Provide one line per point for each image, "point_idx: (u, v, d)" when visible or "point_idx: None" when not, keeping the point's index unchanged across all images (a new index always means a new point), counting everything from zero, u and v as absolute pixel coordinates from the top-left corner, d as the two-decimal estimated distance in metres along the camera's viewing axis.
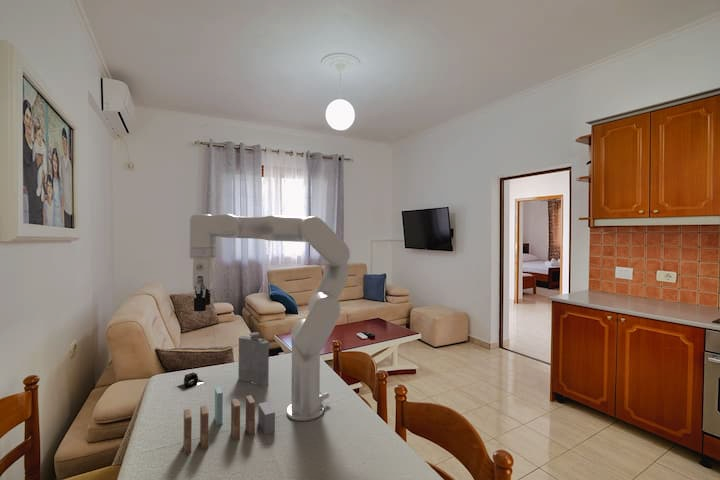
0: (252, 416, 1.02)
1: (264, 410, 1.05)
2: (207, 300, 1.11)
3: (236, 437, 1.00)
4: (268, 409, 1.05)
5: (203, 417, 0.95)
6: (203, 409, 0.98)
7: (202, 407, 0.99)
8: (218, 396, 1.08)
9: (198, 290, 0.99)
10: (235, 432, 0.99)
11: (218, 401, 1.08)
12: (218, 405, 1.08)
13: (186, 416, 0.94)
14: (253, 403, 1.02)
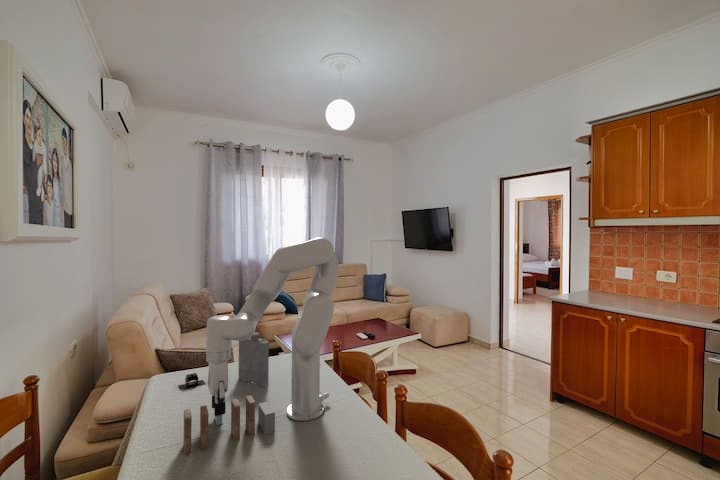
0: (252, 416, 1.02)
1: (264, 410, 1.05)
2: None
3: (236, 437, 1.00)
4: (268, 409, 1.05)
5: (203, 417, 0.95)
6: (203, 409, 0.98)
7: (202, 407, 0.99)
8: (218, 396, 1.08)
9: None
10: (235, 432, 0.99)
11: None
12: None
13: (186, 416, 0.94)
14: (253, 403, 1.02)
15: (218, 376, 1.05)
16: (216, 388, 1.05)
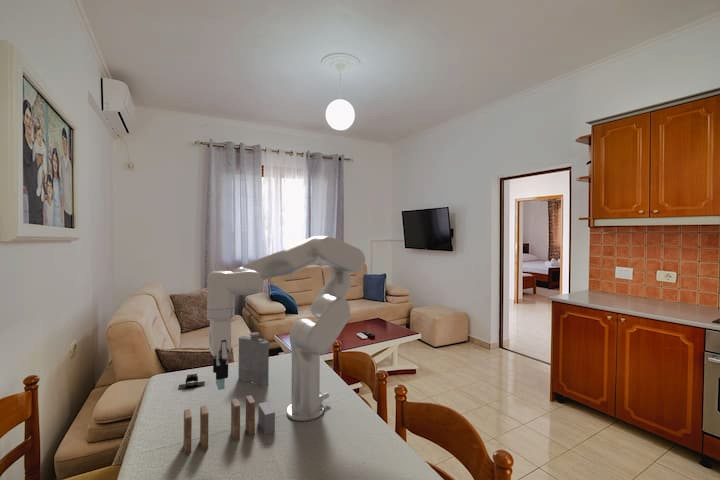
0: (252, 416, 1.02)
1: (264, 410, 1.05)
2: None
3: (236, 437, 1.00)
4: (268, 409, 1.05)
5: (203, 417, 0.95)
6: (203, 409, 0.98)
7: (202, 407, 0.99)
8: None
9: None
10: (235, 432, 0.99)
11: None
12: None
13: (186, 416, 0.94)
14: (253, 403, 1.02)
15: (220, 335, 0.95)
16: (218, 348, 0.95)
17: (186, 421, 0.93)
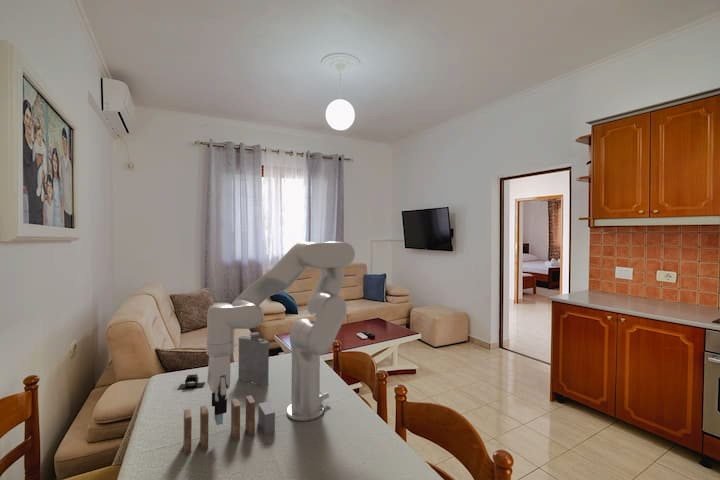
0: (252, 416, 1.02)
1: (264, 410, 1.05)
2: None
3: (236, 437, 1.00)
4: (268, 409, 1.05)
5: (203, 417, 0.95)
6: (203, 409, 0.98)
7: (202, 407, 0.99)
8: (218, 393, 0.97)
9: None
10: (235, 432, 0.99)
11: None
12: None
13: (186, 416, 0.94)
14: (253, 403, 1.02)
15: (219, 370, 0.95)
16: (217, 384, 0.94)
17: (186, 421, 0.93)
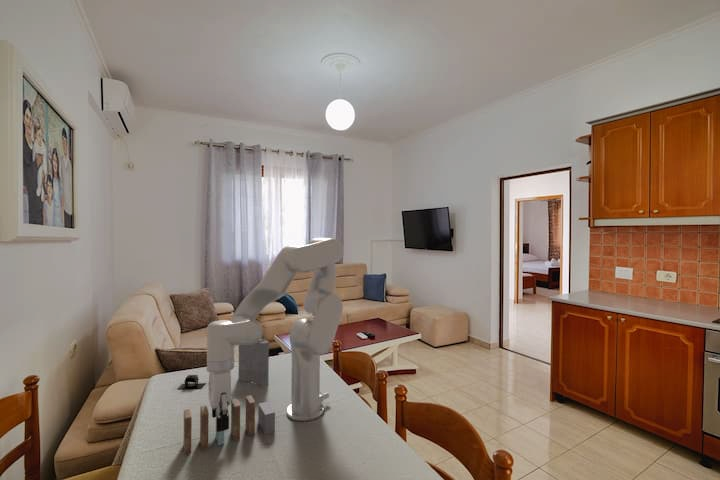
0: (252, 416, 1.02)
1: (264, 410, 1.05)
2: None
3: (236, 437, 1.00)
4: (268, 409, 1.05)
5: (203, 417, 0.95)
6: (203, 409, 0.98)
7: (202, 407, 0.99)
8: None
9: None
10: (235, 432, 0.99)
11: None
12: None
13: (186, 416, 0.94)
14: (253, 403, 1.02)
15: (220, 388, 0.95)
16: (218, 401, 0.95)
17: (186, 421, 0.93)
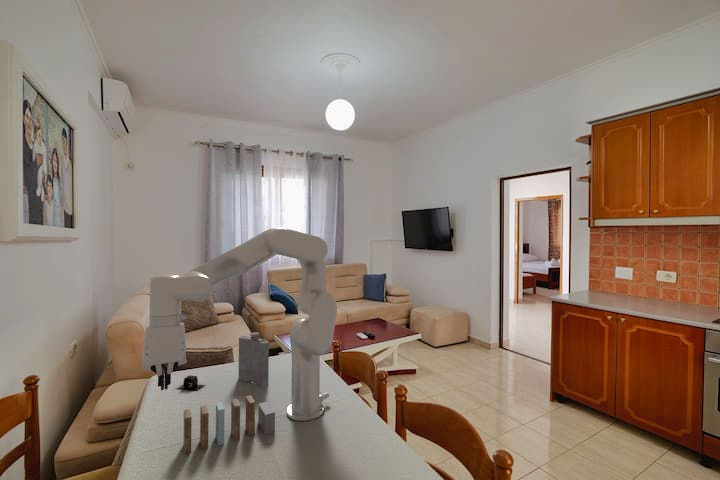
0: (252, 416, 1.02)
1: (264, 410, 1.05)
2: None
3: (236, 437, 1.00)
4: (268, 409, 1.05)
5: (203, 417, 0.95)
6: (203, 409, 0.98)
7: (202, 407, 0.99)
8: (219, 413, 0.97)
9: None
10: (235, 432, 0.99)
11: (219, 418, 0.97)
12: (219, 423, 0.97)
13: (186, 416, 0.94)
14: (253, 403, 1.02)
15: None
16: None
17: (186, 421, 0.93)
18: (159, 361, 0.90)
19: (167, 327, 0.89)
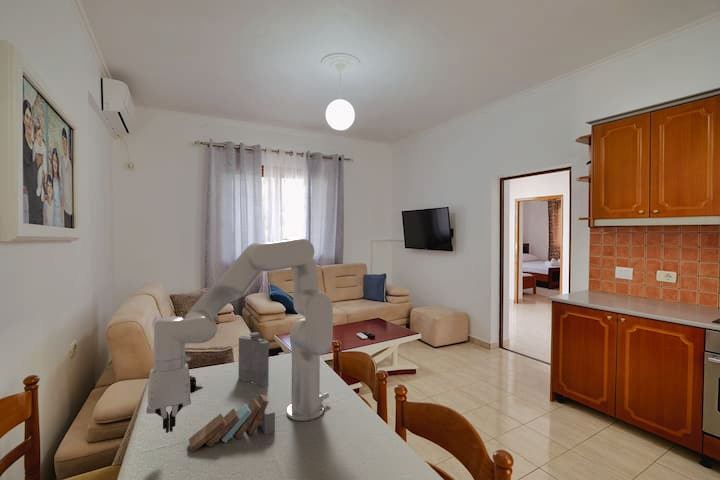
0: (260, 414, 1.03)
1: None
2: (168, 423, 0.94)
3: (238, 434, 1.00)
4: (268, 409, 1.05)
5: (234, 419, 0.99)
6: (236, 412, 1.02)
7: (234, 410, 1.03)
8: (246, 413, 1.01)
9: None
10: (241, 429, 1.00)
11: (242, 418, 1.00)
12: (239, 421, 1.00)
13: (223, 420, 0.99)
14: (266, 402, 1.04)
15: (148, 384, 0.91)
16: None
17: (221, 424, 0.97)
18: (164, 404, 0.90)
19: (171, 371, 0.90)
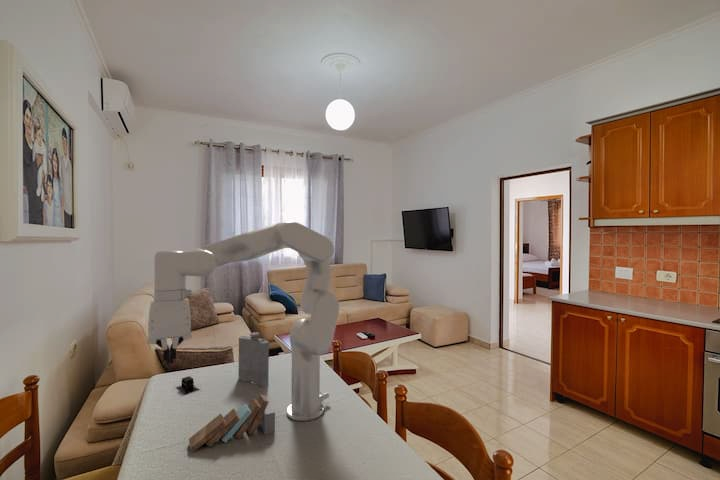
0: (260, 415, 1.03)
1: None
2: None
3: (238, 434, 1.00)
4: (268, 409, 1.05)
5: (234, 419, 0.99)
6: (236, 412, 1.02)
7: (234, 410, 1.03)
8: (246, 413, 1.01)
9: None
10: (241, 429, 1.00)
11: (242, 418, 1.00)
12: (239, 421, 1.00)
13: (223, 420, 0.99)
14: (266, 402, 1.04)
15: None
16: None
17: (221, 424, 0.97)
18: (164, 335, 0.90)
19: (172, 301, 0.90)
